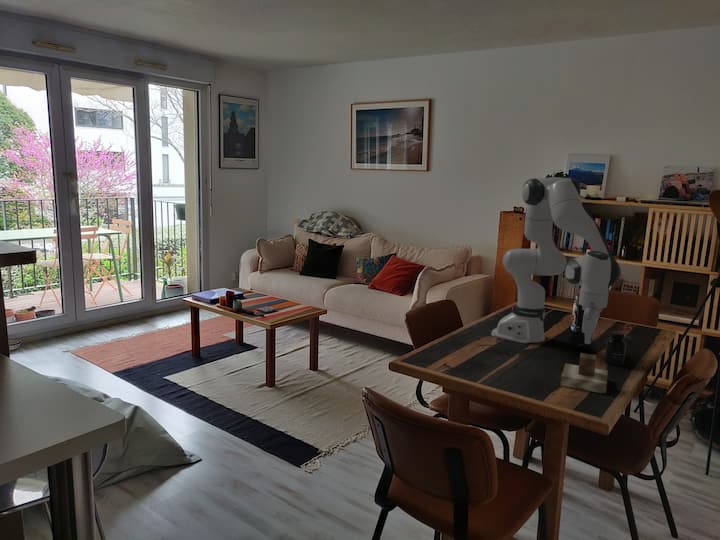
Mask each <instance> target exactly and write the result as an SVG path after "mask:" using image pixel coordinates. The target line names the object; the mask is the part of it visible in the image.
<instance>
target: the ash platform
mask: <svg viewBox="0 0 720 540" xmlns="http://www.w3.org/2000/svg"><path fill="white" fill-rule="evenodd" d="M608 371H609V370H607V369H601V368H596V367H595V374H594V376H587V375H581V374H578V372H579V364H578V365H577V364H571V363H564V367H563V371H562V373H561V377H560V378H561V379H560V386H561V387H565V386H566V388H570V387H572V388H571V389H576V388H577V390H581V389H583V390H582V391H589V392H594V393H598V394H603V393H605V394H604V395H606V393H607V387H608V386H607V385H608V376H609V374H608V373H609V372H608Z"/></svg>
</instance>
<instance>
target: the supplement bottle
mask: <svg viewBox="0 0 720 540" xmlns="http://www.w3.org/2000/svg"><path fill="white" fill-rule="evenodd" d="M625 337H626V336H625V333H624V332H622V331H618V330H616V331H615V330H611V331H610V335H609V338H607V339H606V342H605V343H606V344H605V345H606V346H605V351H604V359H603V360H604V363H606V364H608V365H611V366H617V367H618V366H619V365H620V366H622V365H624V362H625V358H626V357H625V356H626V349H627V342H626V341H625Z"/></svg>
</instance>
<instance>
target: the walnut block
mask: <svg viewBox="0 0 720 540" xmlns="http://www.w3.org/2000/svg"><path fill="white" fill-rule="evenodd" d="M596 361H597V355H596V354H591V353H589V354H588V353H583V352H580V355H579V364H578V366H579V372H578V374H581V375H587V376H594V374H595V368H596V363H597V362H596Z"/></svg>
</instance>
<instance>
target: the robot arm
mask: <svg viewBox="0 0 720 540" xmlns="http://www.w3.org/2000/svg"><path fill="white" fill-rule="evenodd" d="M521 194H522V200H523V201H524V203H525V204H526V205H527V206H526V211H525V220H524V226H523V227H524V228H523V233H524V234H523V235H524V237H525V238H526V239H527V240H529V241H530V242H532V243H534V244H535V245H536V246H537V248H514V249H513V248H512V249H508V250H507V251H506V252H505V254H504V255H503V258H502V265H503V268H504V269H505V271H506V272H508V273H509V274H510V275H511V276H512V277H513V279H514V281H515V284H516V287H517V302H515V303H513V304H512V307H511V313H509V314H507V315H505V316H503V317H502V318H501V319H500V320H499V322H498V323H497V327H495V328H493V329H492V331H491V333H490V335H491V336H492V337H494V338H498V339H503V340H508V341H513V342H517V343H521V344H529V343H541V342H544V341H546V337H545V331H544V321H545V314H546V311H545V309H546V307H545V299H546V290H545V288H544V286H542V285H541V284H539V283H538V282H536V281H535V280H533V279H532V276H549V277H550V276H557V275H558V276H559V275H561V274H562V273H563V274H564V278H565V280H566V281H567V282H568V283H569V284H571V285H574V286H580V288H579V295H578V297H579V298H578V305H580V306H582V307H581V309H582V310H583V311H584V312H583V316H582V325H581V327H582V328H581V332H582V333H583V334H584V344H585V345H590V344H591V343H592V337H594V333H595V330H596V327H597V324H598V321H599V319H600V314H601V312H603V309H605V308H607V306H608V300H609V292H610V291H609V287H612V286H613V285H615V284H616V283H617V282H618V281H619V279H620V277H621V273H622V271H621V266H620V265H619V263H618V261H617V260H616V258H615V257H614V255H613V253H612V252H611V249H610V247H609V245H608V243H607V241H606V238H605V236H604V235H603V233H602V230H601V228H600V226H599V224H598V223H597V222H596V220H594V219H593V218H592V217H590V215H589V214H588V212H587V211H586V210H585V208H584V206H583V204H582V203H583V202H582V199H581V197H580V196H581V185H580V183H579V181H578V180H577V179H576V178H573V177H554V176H550V177H543V178H542V177H541V178H531V179H527V180H526V181H525V182H524V184H523V187H522V192H521ZM553 225H555V226H556V227H557V228H558V229H559V230H561V231H563V232H566V233H570V234H572V235H575V236H578V237H579V238H582V239H583V240H585V241H586V242H587V243H588V245H589V247H590V250H589V251H587V252H585V254H584V255H582V256H578V257H575V258H570V259H569V260H568V261H567V258H566V256H565V254H564V253H563V252H562V251H561V250H559V248H557V246H556V244H555V242H554V239H553Z"/></svg>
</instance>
